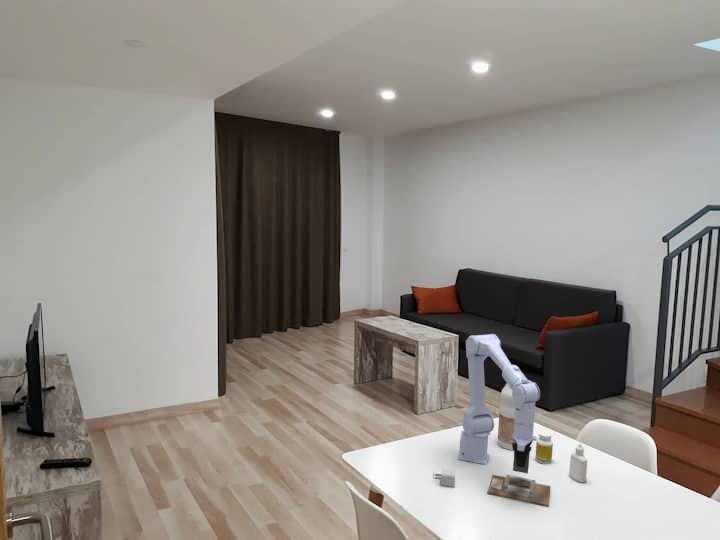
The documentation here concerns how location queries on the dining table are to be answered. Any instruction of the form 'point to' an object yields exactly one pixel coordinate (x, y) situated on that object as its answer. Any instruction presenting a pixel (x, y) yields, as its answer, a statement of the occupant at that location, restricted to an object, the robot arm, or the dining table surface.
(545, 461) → the supplement bottle
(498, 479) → the socket dock
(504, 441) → the fruit juice
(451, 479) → the usb wall charger
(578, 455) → the eye dropper bottle
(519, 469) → the plug
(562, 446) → the dining table surface
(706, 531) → the dining table surface
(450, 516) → the dining table surface
